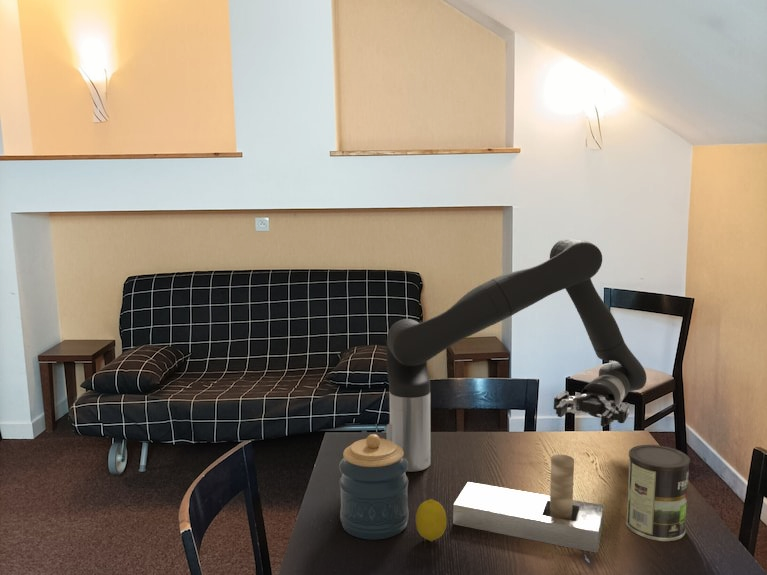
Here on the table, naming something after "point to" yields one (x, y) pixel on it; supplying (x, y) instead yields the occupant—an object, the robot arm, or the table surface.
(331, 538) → the table surface
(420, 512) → the lemon
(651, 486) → the coffee can
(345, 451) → the canister
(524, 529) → the block
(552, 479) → the peg
